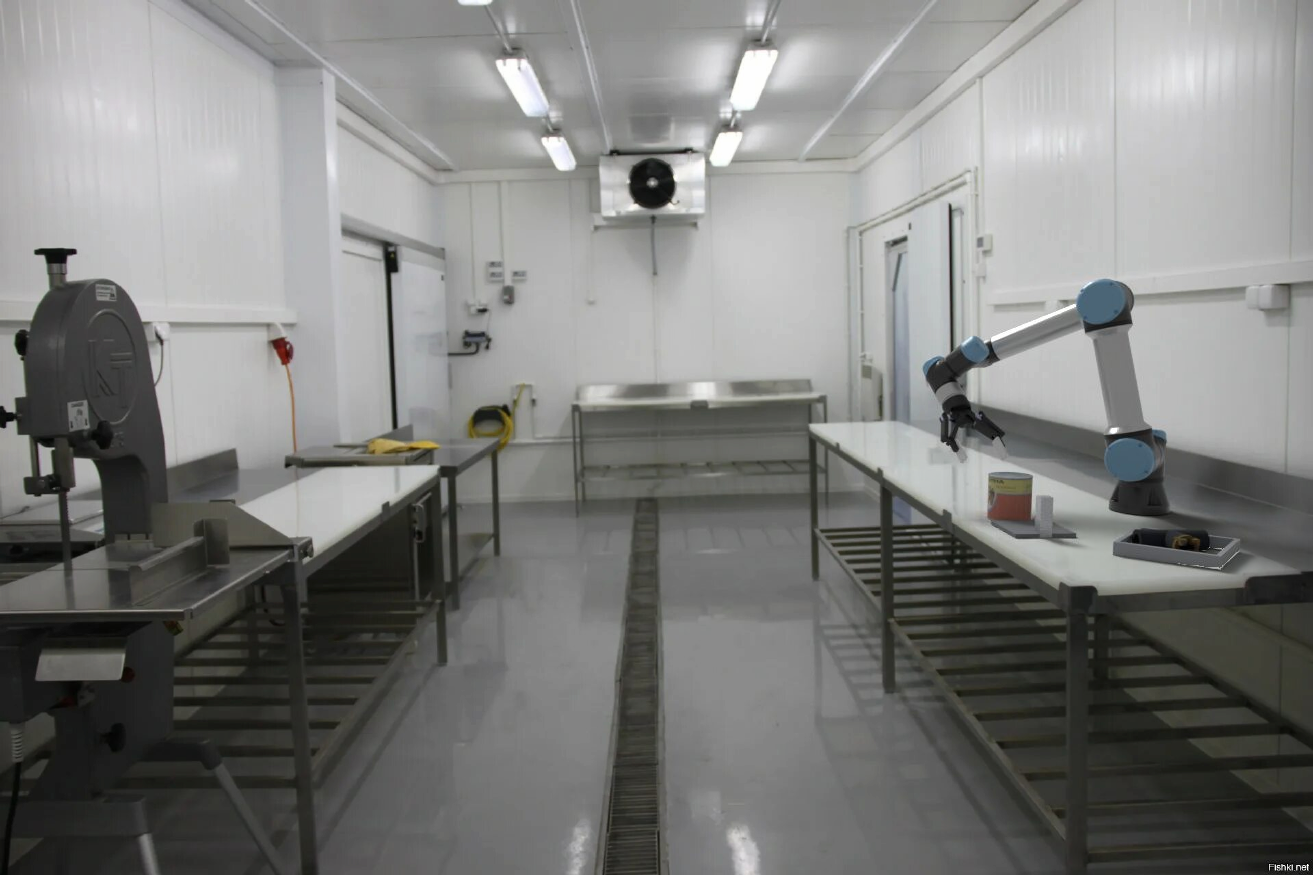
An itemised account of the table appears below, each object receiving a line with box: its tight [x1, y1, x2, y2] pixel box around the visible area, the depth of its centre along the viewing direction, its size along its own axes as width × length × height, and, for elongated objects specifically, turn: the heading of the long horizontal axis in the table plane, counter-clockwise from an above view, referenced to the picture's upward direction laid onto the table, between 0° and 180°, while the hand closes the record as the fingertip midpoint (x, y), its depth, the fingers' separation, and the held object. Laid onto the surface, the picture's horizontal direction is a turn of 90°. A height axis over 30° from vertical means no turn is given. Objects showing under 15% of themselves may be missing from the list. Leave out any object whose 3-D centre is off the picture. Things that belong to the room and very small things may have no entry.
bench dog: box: [1034, 494, 1054, 539], centre depth 223 cm, size 3×3×10 cm
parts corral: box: [1112, 526, 1241, 568], centre depth 205 cm, size 21×21×3 cm
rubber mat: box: [990, 519, 1077, 539], centre depth 230 cm, size 16×15×1 cm
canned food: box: [986, 471, 1034, 521], centre depth 244 cm, size 11×11×12 cm
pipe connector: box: [1132, 528, 1210, 552], centre depth 205 cm, size 12×5×15 cm
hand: (985, 459), depth 253 cm, fingers open, 13 cm apart
